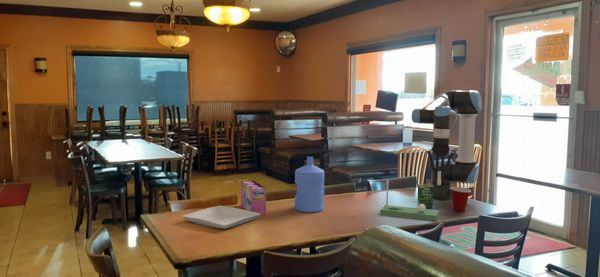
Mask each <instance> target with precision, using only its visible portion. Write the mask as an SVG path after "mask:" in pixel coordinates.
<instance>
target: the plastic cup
mask: <svg viewBox="0 0 600 277" xmlns="http://www.w3.org/2000/svg"><path fill="white" fill-rule="evenodd" d="M450 189H451V194H452V199H451V200H452V201H451V202H452V207H453V210H454V212H458V213H459V212H462V213H463V212H465V211H466V208H467V204H468V200H469V196H470V193H471V192H472V190H471V189H469V188H464V187H458V186H451V188H450Z"/></svg>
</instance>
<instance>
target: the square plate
mask: <svg viewBox="0 0 600 277" xmlns="http://www.w3.org/2000/svg"><path fill="white" fill-rule="evenodd" d="M181 217H182V218H183V219H184V220H186V221H188V222H191V223H195V224H197V225H201V226H206V227H211V228H216V229H223V230H224V229H225V230H226V229H230V228H233V227H236V226H239V225H241V224H244V223H247V222H250V221H253V220H256V219H257V218H259V217H261V214H260V213H256V212H251V211H247V210H245V209H244V208H243V209H242V208H237V207H232V206H226V205H225V206H224V205H216V206H213V207H208V208H205V209H204V208H203V209H200V210H197V211H193V212H190V213H187V214H183V215H181Z"/></svg>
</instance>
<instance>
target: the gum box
mask: <svg viewBox="0 0 600 277" xmlns="http://www.w3.org/2000/svg"><path fill="white" fill-rule="evenodd" d="M240 183H241V184H240V185H241V186H240V206H241V207H242V208H243V210H247V211H251V212H256V213H260V214H261V215H266V214H267V212H266V211H267V208H266V207H267V206H266V204H267V189H266V187H265V186H264V185H262V184H260V183H259V182H257V181H256V180H250V181H243V180H241V181H240ZM261 215H260V216H261Z"/></svg>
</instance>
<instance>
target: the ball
mask: <svg viewBox="0 0 600 277" xmlns="http://www.w3.org/2000/svg"><path fill="white" fill-rule="evenodd" d="M417 208H418V210H419V211H420V212H424V211H425V209H427V208H426V207H425V205H423V204H420V205H418V207H417Z"/></svg>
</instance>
